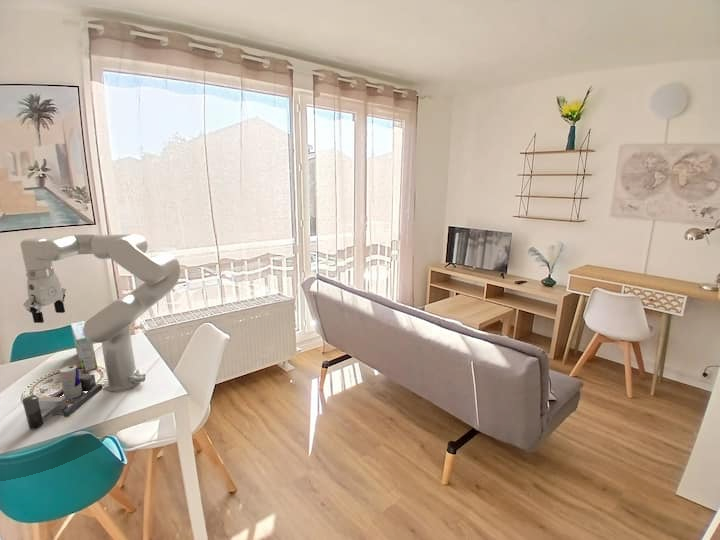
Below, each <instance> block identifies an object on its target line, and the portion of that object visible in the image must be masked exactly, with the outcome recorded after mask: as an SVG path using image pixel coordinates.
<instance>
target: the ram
mask: <svg viewBox="0 0 720 540" xmlns="http://www.w3.org/2000/svg"><path fill="white" fill-rule="evenodd" d="M67 402H68V401H67V400H66V397H64V396H63V397H51V396H42V397H40V398H39V397H38V395H29V396H26V397H25V398H23V399H22V403H23V408H24V412H25V416H26V421H27V424H28V429H29V430H34V429H35V430H36V429H39V428H41V427H42V426H43V425H44V421H45V420H46V419H48V418H49V417H51V415H63V411H64V410H66V409H67V408H68V407H69V405H68V403H67Z"/></svg>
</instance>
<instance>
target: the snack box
mask: <svg viewBox="0 0 720 540" xmlns="http://www.w3.org/2000/svg"><path fill="white" fill-rule="evenodd" d="M85 323H86V322H85V321H84V320H82V321H78V322H73V323H70V328H71V333H72V339H73V341H74V347H75V351H76V353H77V357H78V360H79V363H80V367H81V369H82V372H83V373H85V372H89V371H92V370H95V369H98V368H99V367H98V363H97V358H96V353H95V347H94V344H93V343H94V342H91V341H89V340H88V339H87V338H86V337H85V336H84V332H83V328H84V325H85Z"/></svg>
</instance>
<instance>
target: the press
mask: <svg viewBox="0 0 720 540" xmlns="http://www.w3.org/2000/svg"><path fill="white" fill-rule="evenodd" d="M79 376H80V381H81V386H82V391H88V392H87V393H83V396H82V397H81V398H79V399H78V400H75V401H70V402H69V401H67V404H71V405H70V406H69V405H68V408H67V409H66V410H64V411H63V414H62V415H63V417H64V418H68V417H70V416H71V415H72V414H73V413H75V412H76V411H77V410H79V408H81V407H82V406H83V405H85V404H86V403H88V402H89V400H91V398H93V397H95V396H96V394H98V393H99V392H100V391H101V390H103V384H102V383H96V382H97V381H96V378H95V374H90V373H89V374H88V373H87V374H85V373H79ZM63 394H64V392H63V387H62V388H61V389H59V390H58V391H56V392H55V393H53V395H50V397H60V396H62V395H63Z"/></svg>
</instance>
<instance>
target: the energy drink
mask: <svg viewBox="0 0 720 540" xmlns="http://www.w3.org/2000/svg"><path fill="white" fill-rule="evenodd" d="M58 374H59V378H60V381H61V386H62V388H63V392H64V396H63V397H66V400H68V401H67V402H69V401H70V402H76V401H77V399H79V398H81V397H82V395H84V393H83V391H82V386H81V381H80V376H79V374H80V372H79V368H78V366H77V365H75V364H70V365H66V366H64V367H61V368H60V369H59V373H58Z"/></svg>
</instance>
